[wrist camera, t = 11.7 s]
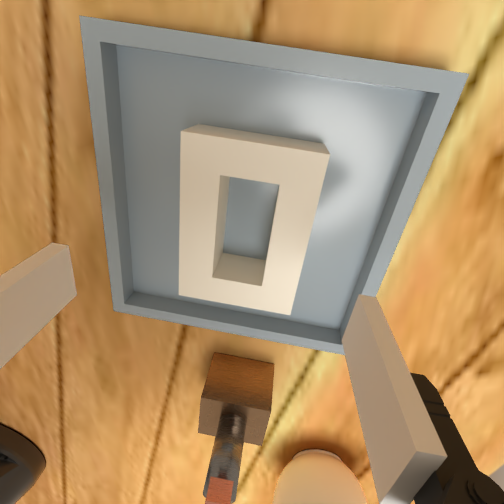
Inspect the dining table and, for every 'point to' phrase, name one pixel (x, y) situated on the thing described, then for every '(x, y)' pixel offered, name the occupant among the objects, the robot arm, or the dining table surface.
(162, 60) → the tray
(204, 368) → the dining table surface
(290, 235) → the slotted frame
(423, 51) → the dining table surface
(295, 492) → the lidded jar
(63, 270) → the robot arm
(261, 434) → the t-stake
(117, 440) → the dining table surface
